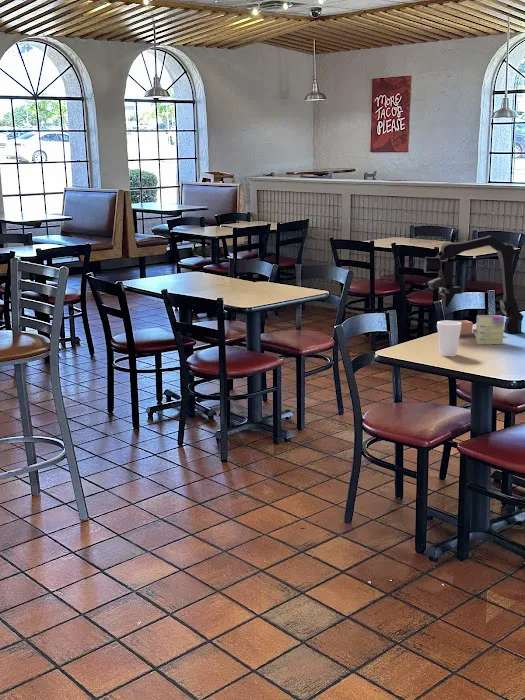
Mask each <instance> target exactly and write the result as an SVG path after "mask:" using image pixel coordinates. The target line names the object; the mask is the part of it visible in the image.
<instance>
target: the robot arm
mask: <svg viewBox="0 0 525 700" xmlns="http://www.w3.org/2000/svg"><path fill="white" fill-rule="evenodd" d="M483 247H491V248H492V249H493V250H495V251H496V253H497V256H498V260H499V263H500V265H501V279H502V289H503V291H502V292H503V297H502V299H499V309H500V310H501V312H502V314H504V315H505V321H504V330H503V333H504V332H505V333H506V334H509V335H516V334H524V331H522V323H523V318H524V315H523V313H521V312H520V311H519V310H520V309H519V305H518V301H517V299H516V297H515V288H514V277H513V263H514V257H515V248H514V246H513V245H510V244H507V243H503V242H502V241H500V240H499V239H497V238H496V237H494V236H492V235H486V236H484V237H480V238H475V239H471V240H470V239H469V240H466V241H462V242H446V243H444V244H442V245H441V247H440V251H439V252H438V253H437V255H436V256H434V257H433V256H431V257H430V256H425V257H424V261H423V266H422V268H423V272H424V273H428V274H429V273H439V271H440V273H439V274H438V277H437V278H433V279H431V280H429V281H428V282H427V285H428V288H429V290H432V291H434V290H437V289H439V290H437V292H438V293H439V294H440V295H441V298H442V302H443V306H444V308H448V307H449V306H450V304H451V302H452V300H453V298H454V296H455V295H458V294H459V295H462V294H463V288H462V287H461V286H456V283H455V278H456V277H457V275H456V274H455V263H459V262H460V260H459V259H458V258H457V256H459V254H462V253H464V252H467V251H471V250H475V249H479V248H483Z"/></svg>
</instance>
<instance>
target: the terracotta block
mask: <svg viewBox="0 0 525 700" xmlns="http://www.w3.org/2000/svg"><path fill="white" fill-rule="evenodd" d="M457 321H458V322H461V323H462V325H461V331H460V335H462V334H472V333H473V325H474V324H473V322H472V321H469V320H465V319H464V320H462V319H461V320H457Z"/></svg>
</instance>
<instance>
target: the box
mask: <svg viewBox="0 0 525 700" xmlns="http://www.w3.org/2000/svg"><path fill="white" fill-rule="evenodd" d="M476 324H477V327H476V328H475V329H476V334H475V343H476V342H477V343H476V344H477V345H492V344H503V343H504V341H503V340H504V331H503V330H504V326H505V317H504V316H503V315H496V314H495V315H494V314H477V315H476Z"/></svg>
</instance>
